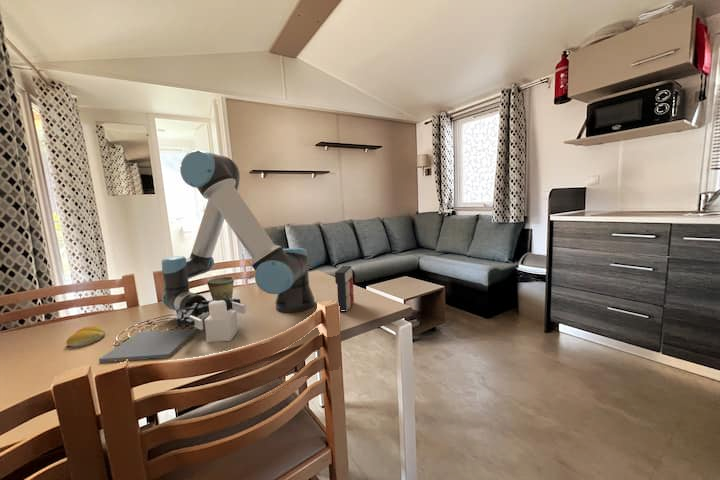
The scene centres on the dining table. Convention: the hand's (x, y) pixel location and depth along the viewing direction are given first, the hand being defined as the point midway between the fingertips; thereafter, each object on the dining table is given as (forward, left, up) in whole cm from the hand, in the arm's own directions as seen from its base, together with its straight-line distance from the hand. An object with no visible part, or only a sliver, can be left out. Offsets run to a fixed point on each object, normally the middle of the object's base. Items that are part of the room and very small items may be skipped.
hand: (224, 316), depth 89 cm
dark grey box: (-37, -21, -7) cm, 43 cm away
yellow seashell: (+45, -6, -7) cm, 46 cm away
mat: (+21, +1, -7) cm, 22 cm away
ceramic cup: (+14, -36, -7) cm, 39 cm away
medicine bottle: (+2, -2, -7) cm, 8 cm away
